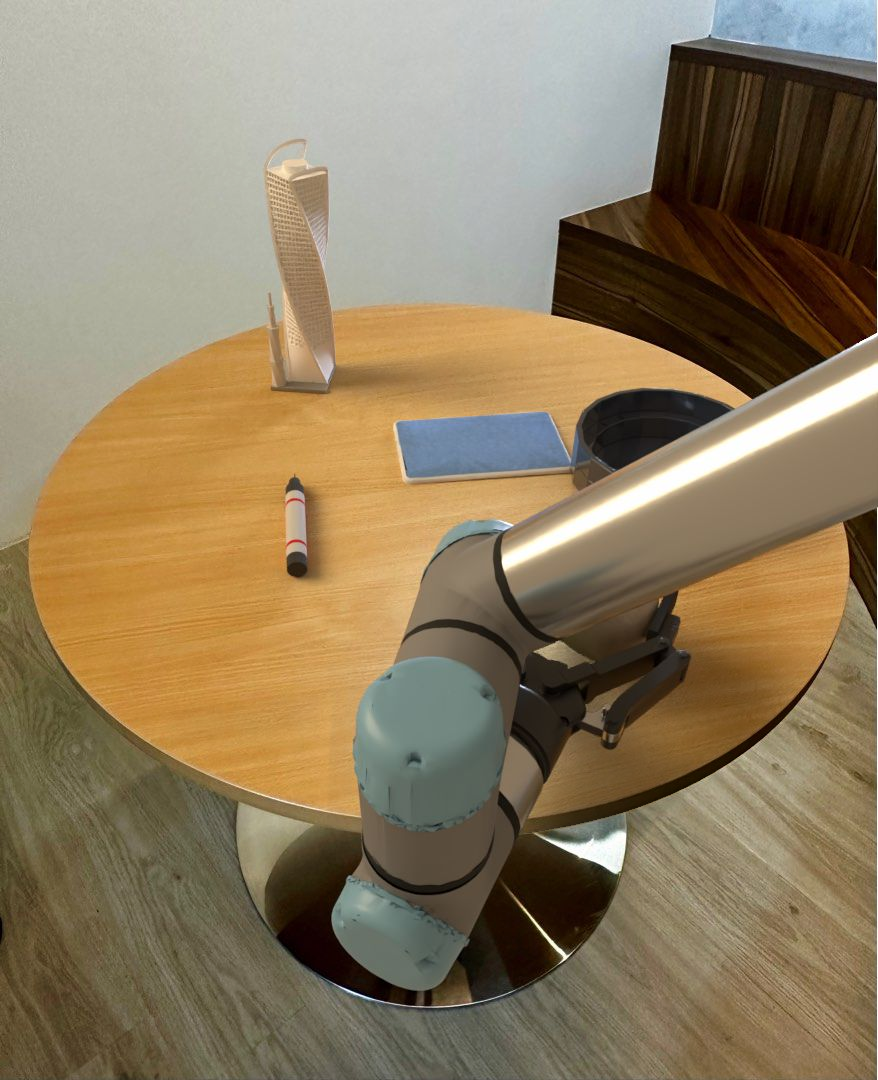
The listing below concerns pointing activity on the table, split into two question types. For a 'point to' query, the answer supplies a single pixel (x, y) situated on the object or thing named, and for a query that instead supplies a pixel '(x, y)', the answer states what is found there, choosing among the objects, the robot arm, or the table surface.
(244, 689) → the table surface
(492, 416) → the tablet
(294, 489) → the marker
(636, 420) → the dark grey dish
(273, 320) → the skyscraper
